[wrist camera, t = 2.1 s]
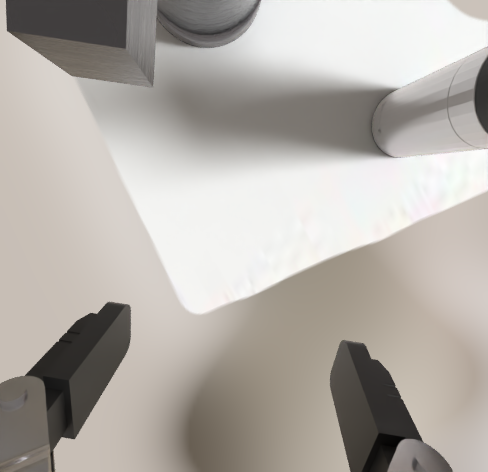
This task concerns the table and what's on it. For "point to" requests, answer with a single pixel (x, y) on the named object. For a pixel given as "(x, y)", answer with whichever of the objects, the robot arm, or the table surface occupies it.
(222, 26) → the canister
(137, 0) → the lid
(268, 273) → the table surface
